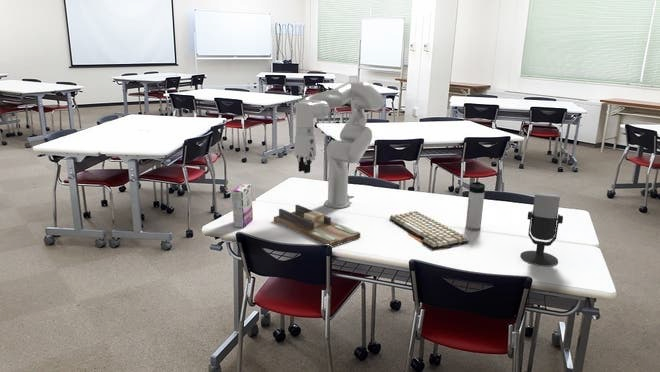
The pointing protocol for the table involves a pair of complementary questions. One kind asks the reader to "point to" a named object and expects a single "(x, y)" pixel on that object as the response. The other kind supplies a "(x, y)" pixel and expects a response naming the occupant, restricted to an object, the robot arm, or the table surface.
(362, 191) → the table surface
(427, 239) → the mechanical keyboard
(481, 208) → the travel mug
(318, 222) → the maple block
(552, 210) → the microphone
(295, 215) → the runway board
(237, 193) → the candy bar box
